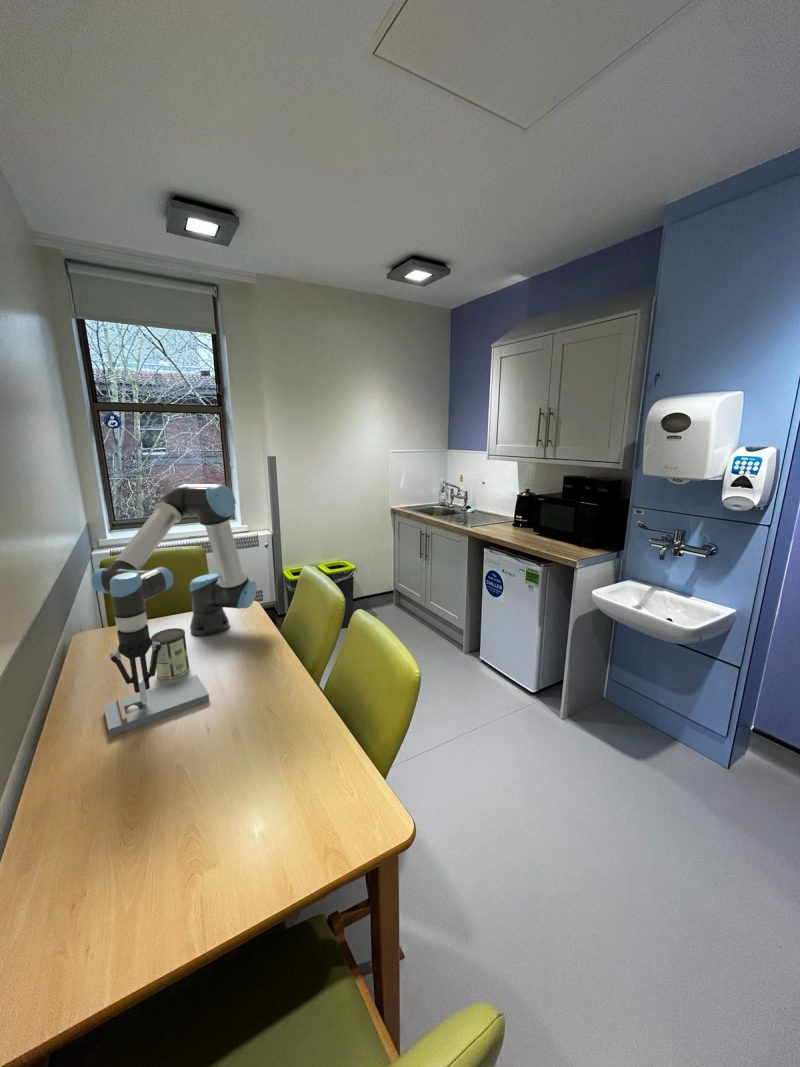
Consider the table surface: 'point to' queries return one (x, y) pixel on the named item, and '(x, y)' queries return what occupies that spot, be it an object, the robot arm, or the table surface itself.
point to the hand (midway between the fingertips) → (143, 700)
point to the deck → (154, 705)
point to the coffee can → (171, 653)
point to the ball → (132, 709)
